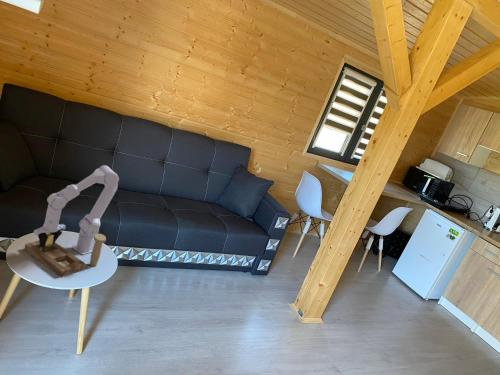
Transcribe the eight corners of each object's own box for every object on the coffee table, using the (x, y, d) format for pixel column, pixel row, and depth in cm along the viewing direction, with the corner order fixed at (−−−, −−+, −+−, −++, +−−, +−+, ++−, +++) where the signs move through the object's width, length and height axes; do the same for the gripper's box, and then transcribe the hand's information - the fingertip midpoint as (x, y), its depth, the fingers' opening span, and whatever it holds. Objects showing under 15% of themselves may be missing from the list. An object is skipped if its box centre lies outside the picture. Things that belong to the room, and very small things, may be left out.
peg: (46, 249, 180) (50, 230, 178) (52, 253, 178) (56, 235, 176) (37, 251, 176) (41, 232, 174) (43, 256, 174) (47, 237, 172)
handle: (90, 268, 177) (97, 240, 174) (85, 261, 182) (92, 233, 178) (100, 267, 181) (107, 240, 177) (95, 260, 185) (102, 233, 181)
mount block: (48, 243, 185) (49, 238, 184) (84, 269, 175) (85, 263, 175) (24, 249, 174) (25, 243, 174) (61, 277, 165) (62, 271, 164)
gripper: (60, 212, 181) (55, 238, 184) (31, 218, 168) (26, 244, 171) (70, 219, 178) (64, 244, 182) (41, 225, 165) (36, 252, 169)
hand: (46, 245), depth 176 cm, fingers closed on peg, 4 cm apart
